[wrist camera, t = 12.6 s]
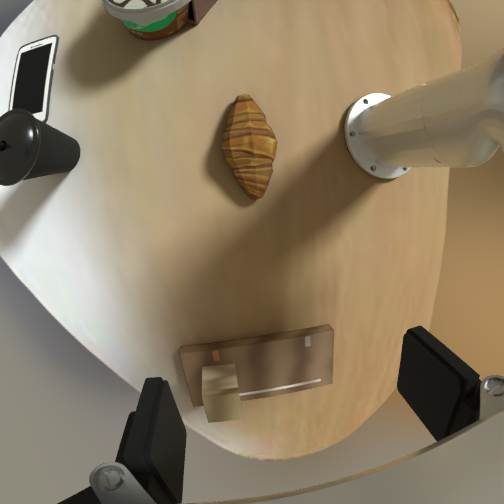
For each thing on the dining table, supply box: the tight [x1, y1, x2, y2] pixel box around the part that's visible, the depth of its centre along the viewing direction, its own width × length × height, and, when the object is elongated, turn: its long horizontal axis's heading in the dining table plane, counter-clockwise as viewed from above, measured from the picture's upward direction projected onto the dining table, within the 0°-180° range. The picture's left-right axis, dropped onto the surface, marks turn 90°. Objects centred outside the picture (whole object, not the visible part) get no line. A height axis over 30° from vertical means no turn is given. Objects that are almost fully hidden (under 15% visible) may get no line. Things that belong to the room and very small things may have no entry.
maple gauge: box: [202, 363, 243, 423], centre depth 39 cm, size 5×5×7 cm
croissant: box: [222, 94, 277, 199], centre depth 35 cm, size 14×7×5 cm, turn 8°
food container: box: [102, 0, 191, 40], centre depth 27 cm, size 12×6×10 cm, turn 62°
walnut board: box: [180, 324, 334, 406], centre depth 43 cm, size 22×10×2 cm, turn 96°
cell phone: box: [9, 35, 59, 123], centre depth 31 cm, size 8×15×1 cm, turn 1°
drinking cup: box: [0, 109, 80, 186], centre depth 25 cm, size 8×8×20 cm
